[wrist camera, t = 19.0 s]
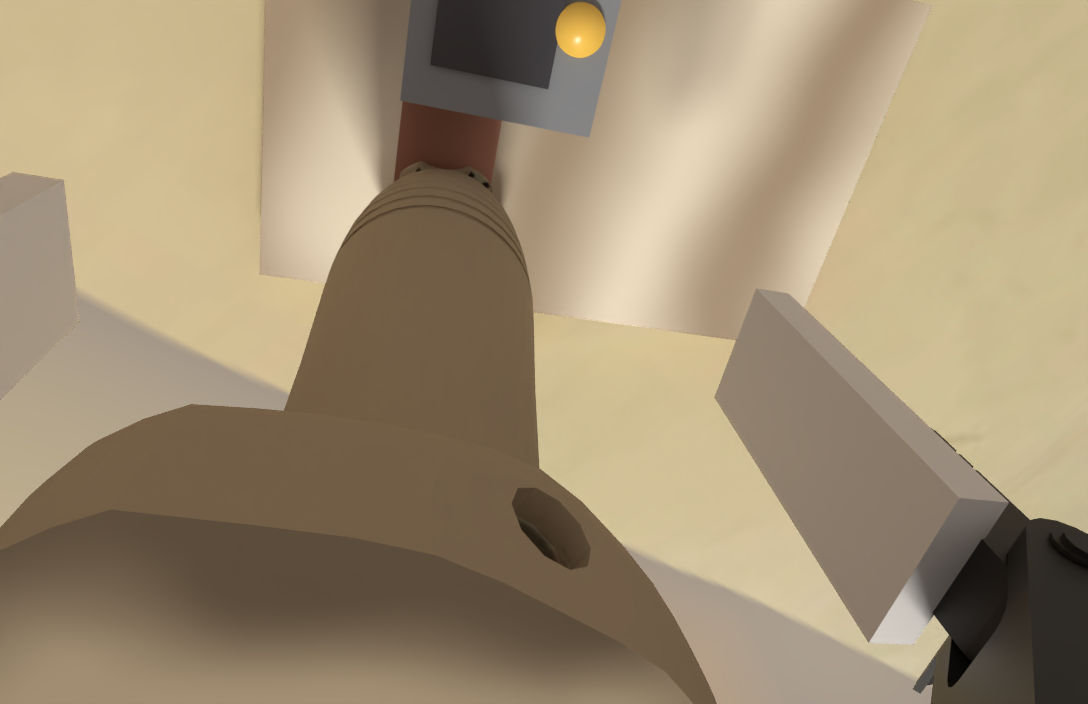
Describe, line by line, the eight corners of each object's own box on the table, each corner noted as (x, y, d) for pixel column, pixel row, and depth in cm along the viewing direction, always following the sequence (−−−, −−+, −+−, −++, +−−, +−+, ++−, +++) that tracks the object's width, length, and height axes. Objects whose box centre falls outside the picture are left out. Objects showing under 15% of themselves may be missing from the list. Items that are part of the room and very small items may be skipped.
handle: (392, 58, 17) (70, 360, 3) (591, 218, 19) (858, 764, 6) (289, 213, 18) (-208, 834, 5) (485, 343, 20) (502, 1000, 7)
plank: (898, 2, 19) (932, 5, 18) (768, 326, 23) (787, 347, 22) (283, -161, 15) (268, -172, 14) (271, 254, 20) (259, 274, 19)
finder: (607, -70, 16) (641, -77, 13) (567, 112, 17) (590, 138, 15) (429, -117, 15) (425, -135, 12) (406, 79, 17) (399, 101, 14)
